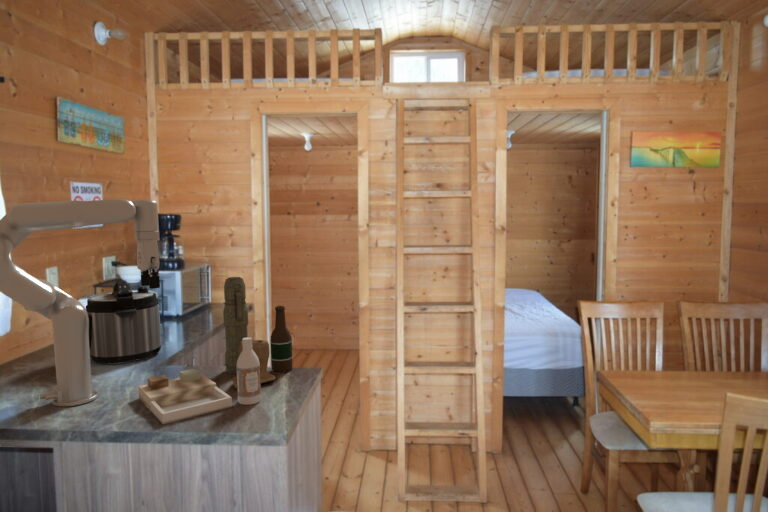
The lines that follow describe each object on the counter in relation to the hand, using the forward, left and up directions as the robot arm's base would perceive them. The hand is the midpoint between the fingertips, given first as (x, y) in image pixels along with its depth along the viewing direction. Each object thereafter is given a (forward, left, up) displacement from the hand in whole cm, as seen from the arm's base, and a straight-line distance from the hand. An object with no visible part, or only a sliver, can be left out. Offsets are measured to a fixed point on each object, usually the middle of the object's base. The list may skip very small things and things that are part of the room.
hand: (150, 286), depth 175 cm
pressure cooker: (0, +46, -34) cm, 58 cm away
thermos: (+28, -4, -34) cm, 45 cm away
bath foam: (+18, -37, -34) cm, 53 cm away
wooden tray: (+2, -18, -34) cm, 38 cm away
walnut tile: (-3, -15, -30) cm, 34 cm away
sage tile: (+7, -15, -30) cm, 34 cm away
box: (+2, -31, -34) cm, 46 cm away
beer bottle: (+41, -14, -34) cm, 55 cm away
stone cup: (+26, -21, -34) cm, 48 cm away
